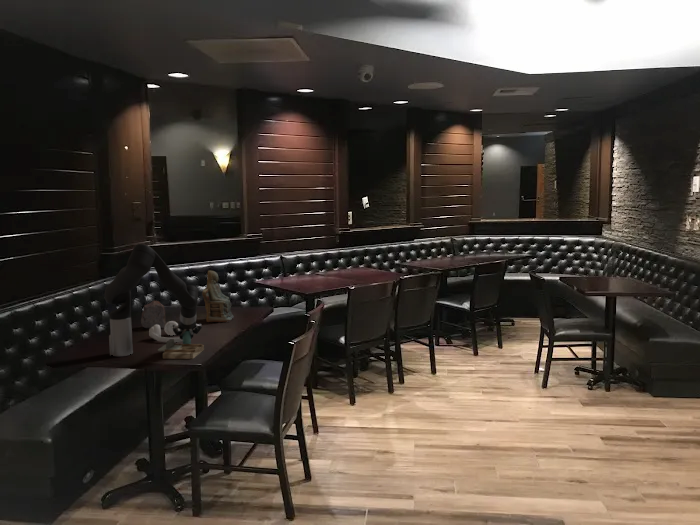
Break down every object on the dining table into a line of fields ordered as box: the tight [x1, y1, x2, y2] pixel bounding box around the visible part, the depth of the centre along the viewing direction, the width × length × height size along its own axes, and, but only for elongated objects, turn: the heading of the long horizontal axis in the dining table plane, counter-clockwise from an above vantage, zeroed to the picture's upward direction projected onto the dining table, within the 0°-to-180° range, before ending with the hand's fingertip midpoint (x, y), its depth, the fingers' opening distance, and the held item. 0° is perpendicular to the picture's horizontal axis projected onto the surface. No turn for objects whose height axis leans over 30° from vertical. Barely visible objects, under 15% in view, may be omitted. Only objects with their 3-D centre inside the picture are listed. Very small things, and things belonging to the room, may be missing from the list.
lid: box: [157, 339, 182, 352], centre depth 273 cm, size 8×8×4 cm
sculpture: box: [202, 270, 235, 323], centre depth 347 cm, size 24×16×30 cm, turn 179°
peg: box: [182, 331, 192, 344], centre depth 284 cm, size 4×4×11 cm
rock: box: [140, 300, 167, 329], centre depth 329 cm, size 14×12×15 cm
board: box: [162, 343, 205, 360], centre depth 272 cm, size 14×16×3 cm
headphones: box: [148, 320, 183, 344], centre depth 303 cm, size 20×8×20 cm
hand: (186, 337), depth 286 cm, fingers closed on peg, 3 cm apart
